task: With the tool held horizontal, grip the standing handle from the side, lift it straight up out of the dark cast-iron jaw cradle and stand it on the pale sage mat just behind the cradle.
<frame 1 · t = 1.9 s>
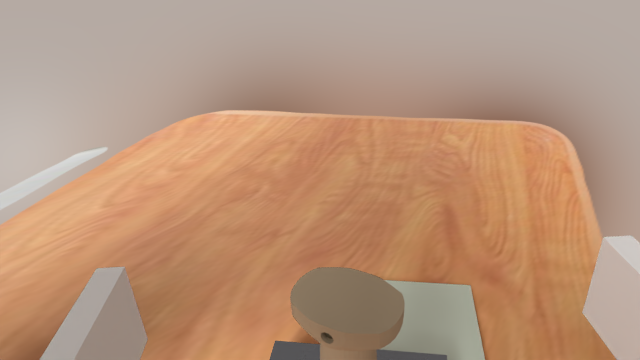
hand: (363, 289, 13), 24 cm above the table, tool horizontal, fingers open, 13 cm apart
mat: (416, 325, 44), on the table
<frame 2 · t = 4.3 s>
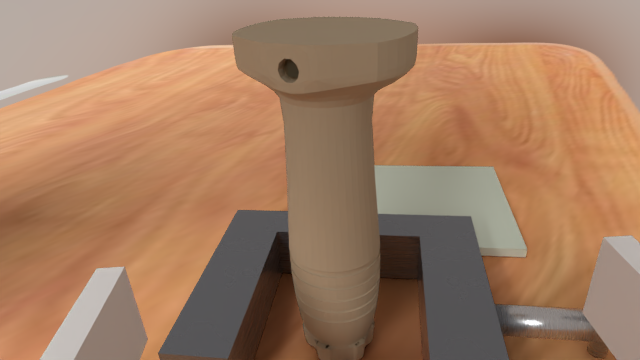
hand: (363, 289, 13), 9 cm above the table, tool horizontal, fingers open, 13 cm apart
handle: (339, 344, 23), on the table
vise: (341, 326, 24), on the table
mat: (426, 207, 34), on the table
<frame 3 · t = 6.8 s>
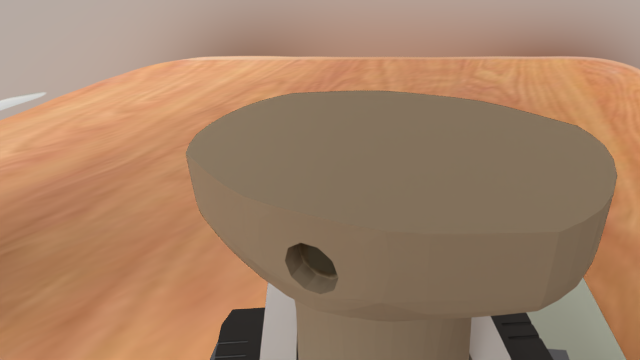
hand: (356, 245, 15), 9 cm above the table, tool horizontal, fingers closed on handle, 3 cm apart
mat: (481, 301, 25), on the table
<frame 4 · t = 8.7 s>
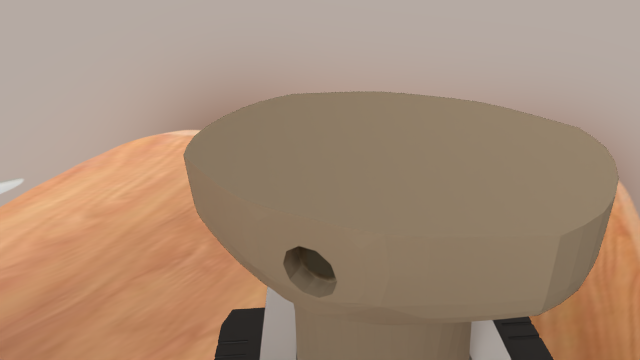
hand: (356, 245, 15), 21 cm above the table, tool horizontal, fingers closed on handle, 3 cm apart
when the fingers open (11 cm above the table, at t = 10.9 s): handle drops 1 cm, resting on mat.
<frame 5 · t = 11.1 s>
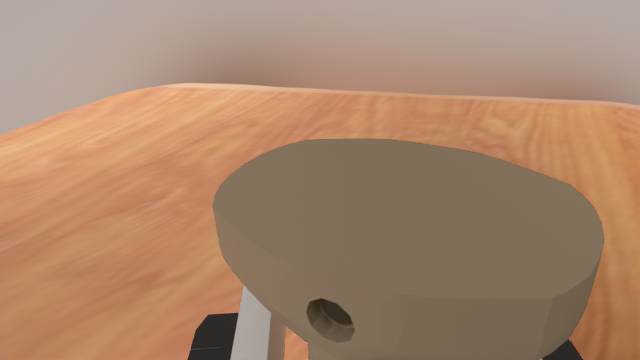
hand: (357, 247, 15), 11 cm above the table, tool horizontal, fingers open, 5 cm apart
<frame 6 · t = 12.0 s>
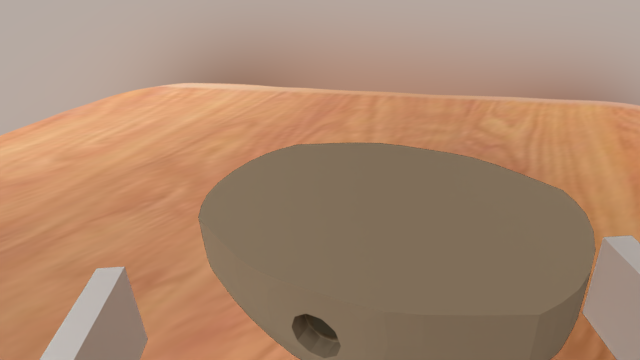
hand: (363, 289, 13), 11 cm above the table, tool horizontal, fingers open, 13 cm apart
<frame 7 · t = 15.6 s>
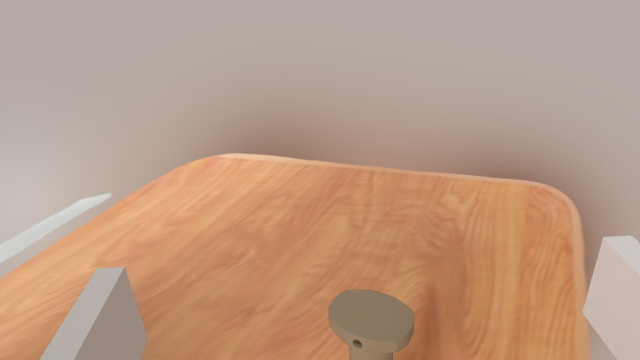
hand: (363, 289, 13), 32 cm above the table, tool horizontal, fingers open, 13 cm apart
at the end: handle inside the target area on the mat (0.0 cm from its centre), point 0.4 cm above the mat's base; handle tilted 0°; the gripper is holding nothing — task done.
